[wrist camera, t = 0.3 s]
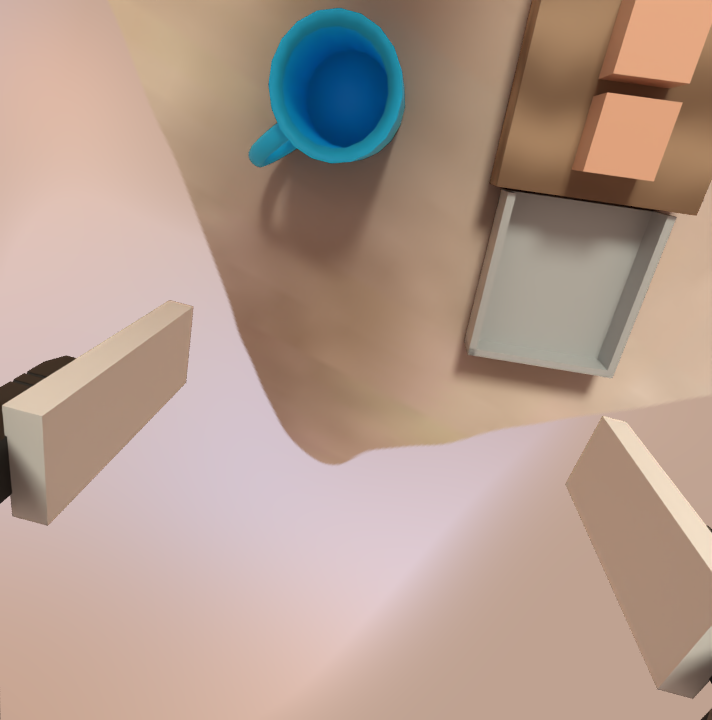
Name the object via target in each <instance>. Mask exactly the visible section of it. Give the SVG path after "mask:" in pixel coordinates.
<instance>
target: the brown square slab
mask: <svg viewBox="0 0 712 720" xmlns="http://www.w3.org/2000/svg"><path fill="white" fill-rule="evenodd" d="M621 1H622V0H532V3H531V7H530V12H529V16H528V20H527V25H526V29H525V33H524V37H523V42H522V46H521V50H520V55H519V59H518V63H517V68H516V72H515V76H514V80H513V85H512V89H511V93H510V98H509V102H508V106H507V110H506V115H505V119H504V123H503V128H502V132H501V136H500V140H499V145H498V149H497V153H496V158H495V162H494V166H493V171H492V175H491V179H490V184H493V185H495V186H498V187H504V188H511V189H518V190H525V191H532V192H539V193H546V194H552V195H559V196H566V197H573V198H580V199H587V200H593V201H600V202H607V203H614V204H621V205H628V206H634V207H641V208H648V209H655V210H662V211H669V212H675V213H682V214H689V215H696V216H697V213H698V211H699V209H700V206H701V204H702V201H703V199H704V196H705V194H706V192H707V189H708V187H709V184H710V182H711V180H712V25H711V27H710V30H709V33H708V36H707V38H706V41H705V44H704V46H703V49H702V52H701V55H700V57H699V60H698V63H697V65H696V68H695V71H694V74H693V76H692V79H691V82H690V84H686V85H682V86H678V87H674V88H661V87H654V86H647V85H639V84H632V83H624V82H617V81H609V80H602V79H599V75H600V72H601V69H602V65H603V62H604V59H605V55H606V52H607V49H608V45H609V42H610V38H611V35H612V32H613V28H614V25H615V22H616V18H617V15H618V12H619V8H620V5H621ZM607 92H608V93H616V94H623V95H630V96H638V97H645V98H652V99H660V100H667V101H675V102H682V106H681V109H680V112H679V114H678V117H677V120H676V123H675V125H674V128H673V131H672V133H671V136H670V139H669V142H668V144H667V147H666V150H665V152H664V155H663V158H662V161H661V163H660V166H659V169H658V171H657V174H656V177H655V180H654V181H646V180H639V179H632V178H625V177H618V176H611V175H604V174H597V173H590V172H583V171H576V170H572V166H573V163H574V160H575V156H576V153H577V149H578V146H579V143H580V139H581V136H582V133H583V129H584V126H585V123H586V119H587V116H588V112H589V109H590V106H591V102H592V99H593V96H597V95H600V94H604V93H607Z"/></svg>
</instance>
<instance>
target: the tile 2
mask: <svg viewBox="0 0 712 720" xmlns="http://www.w3.org/2000/svg"><path fill="white" fill-rule="evenodd" d="M711 25H712V0H622V1H621V5H620V8H619V12H618V15H617V18H616V22H615V25H614V28H613V32H612V35H611V38H610V42H609V45H608V49H607V52H606V55H605V59H604V62H603V65H602V69H601V72H600V75H599V79H602V80H609V81H617V82H624V83H632V84H639V85H647V86H654V87H661V88H674V87H678V86H682V85H686V84H690V82H691V79H692V76H693V74H694V71H695V68H696V65H697V63H698V60H699V57H700V55H701V52H702V49H703V46H704V44H705V41H706V38H707V36H708V33H709V30H710V27H711Z"/></svg>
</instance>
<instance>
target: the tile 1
mask: <svg viewBox="0 0 712 720" xmlns="http://www.w3.org/2000/svg"><path fill="white" fill-rule="evenodd" d="M681 106H682V102H675V101H667V100H660V99H652V98H645V97H638V96H630V95H623V94H616V93H608V92H607V93H604V94H600V95H597V96H593V99H592V102H591V106H590V109H589V112H588V116H587V119H586V123H585V126H584V129H583V133H582V136H581V139H580V143H579V146H578V149H577V153H576V156H575V160H574V163H573V166H572V170H576V171H583V172H590V173H597V174H604V175H611V176H618V177H625V178H632V179H639V180H646V181H654V180H655V177H656V174H657V171H658V169H659V166H660V163H661V161H662V158H663V155H664V152H665V150H666V147H667V144H668V142H669V139H670V136H671V133H672V131H673V128H674V125H675V123H676V120H677V117H678V114H679V112H680V109H681Z"/></svg>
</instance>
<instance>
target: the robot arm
mask: <svg viewBox="0 0 712 720" xmlns="http://www.w3.org/2000/svg"><path fill="white" fill-rule="evenodd" d="M192 315H193V306H190V305H186V304H182V303H179V302H175V301H171V300H169V301H167V302H166V303H164V304H163V305H161V306H160V307H158V308H156V309H155V310H153V311H151V312H150V313H149V314H147V315H145V316H144V317H142V318H141V319H139V320H137V321H136V322H134V323H132V324H131V325H129V326H128V327H126V328H124V329H123V330H121V331H120V332H118V333H116V334H115V335H113V336H112V337H110V338H108V339H107V340H105V341H104V342H102V343H101V344H99V345H97V346H96V347H94V348H93V349H91V350H89V351H88V352H87V353H85V354H83V355H81V356H80V357H78V358H74V357H70V356H63V357H59V358H56V359H52V360H49V361H45V362H43V363H41V364H39V365H38V366H36V367H34V368H32V369H31V370H29V371H28V372H27V374H25V373H24V374H22V375H20V376H19V377H17V378H15V379H14V381H13V382H9V383H7V384H5V385H3V386H2V387H0V503H2V502H3V501H4V500H5V499H6V498H7V497H8V496H10V497H11V507H12V516H14V517H17V518H21V519H25V520H29V521H32V522H36V523H40V524H44V525H47V526H48V525H49V524H50V523H51V522H52V521H53V520H54V519H55V518H56V517H57V516H58V514H60V513H61V511H62V510H63V509H64V508H65V507H66V506H67V505H68V504H69V503H70V502H71V501H72V500H73V499H74V498H75V497H76V496H77V495H78V494H79V493H80V492H81V491H82V490H83V489H84V488H85V487H86V486H87V485H88V484H89V483H90V482H91V480H92V479H93V478H94V477H95V476H96V475H97V474H98V473H99V472H100V471H101V470H102V469H103V468H104V467H105V466H106V465H107V464H108V463H109V462H110V461H111V460H112V459H113V458H114V457H115V456H116V454H118V452H119V451H120V450H121V449H122V448H123V447H124V446H125V445H126V444H127V443H128V442H129V441H130V440H131V439H132V438H133V437H134V436H135V435H136V434H137V433H138V432H139V431H140V430H141V429H142V428H143V427H144V426H145V424H147V422H148V421H149V420H150V419H151V418H152V417H153V416H154V415H155V414H156V413H157V412H158V411H159V410H160V409H161V408H162V407H163V406H164V405H165V404H166V403H167V402H168V401H169V400H170V398H172V397H173V396H174V395H175V393H176V392H177V391H178V390H179V389H180V388H181V387H182V386H183V385H184V384H185V383H186V378H187V367H188V358H189V347H190V337H191V327H192V317H193V316H192ZM565 485H566V487H567V489H568V491H569V493H570V496H571V498H572V500H573V502H574V505H575V507H576V509H577V511H578V513H579V516H580V518H581V520H582V522H583V525H584V527H585V529H586V531H587V533H588V536H589V538H590V540H591V543H592V545H593V547H594V549H595V551H596V554H597V556H598V558H599V560H600V563H601V565H602V567H603V569H604V571H605V574H606V576H607V578H608V580H609V583H610V585H611V587H612V589H613V591H614V593H615V596H616V598H617V600H618V603H619V605H620V607H621V609H622V611H623V614H624V616H625V618H626V620H627V623H628V625H629V627H630V629H631V631H632V634H633V636H634V638H635V641H636V643H637V645H638V647H639V649H640V651H641V654H642V656H643V658H644V661H645V663H646V665H647V667H648V670H649V672H650V673H651V676H652V678H653V681H654V683H655V685H656V687H657V689H658V690H662V691H666V692H670V693H673V694H677V695H681V696H684V697H688V698H692V699H693V698H694V697H695V696H696V695H697V694H698V693H699V692H700V691H701V689H702V688H703V687H704V686H705V685H706V684H707V683H708V682H709V681H711V683H712V529H711V528H710V527H709V526H707V525H705V523H704V522H703V521H702V520H701V519H700V517H699V516H698V514H697V513H696V512H695V511H694V509H693V508H692V507H691V505H690V504H689V503H688V501H687V500H686V499H685V498H684V496H683V495H682V494H681V492H680V491H679V490H678V489H677V487H676V486H675V485H674V483H673V482H672V481H671V479H670V478H669V477H668V475H667V474H666V473H665V472H664V470H663V469H662V468H661V466H660V465H659V464H658V462H657V461H656V460H655V459H654V457H653V456H652V455H651V453H650V452H649V451H648V450H647V448H646V447H645V446H644V444H643V443H642V442H641V440H640V439H639V438H638V437H637V435H636V434H635V433H634V432H633V430H632V429H631V428H630V426H629V425H628V424H627V423H626V422H624V421H620V420H616V419H613V418H609V417H605V416H602V418H601V420H600V421H599V423H598V425H597V427H596V429H595V430H594V433H593V434H592V436H591V438H590V440H589V441H588V443H587V445H586V447H585V449H584V451H583V452H582V454H581V456H580V458H579V460H578V462H577V463H576V465H575V467H574V469H573V471H572V473H571V474H570V476H569V478H568V480H567V482H566V484H565ZM701 720H712V709H711V710H710V711H709V712H708V713H707V714H706V715H705V716H704V717H703V718H702V719H701Z"/></svg>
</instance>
